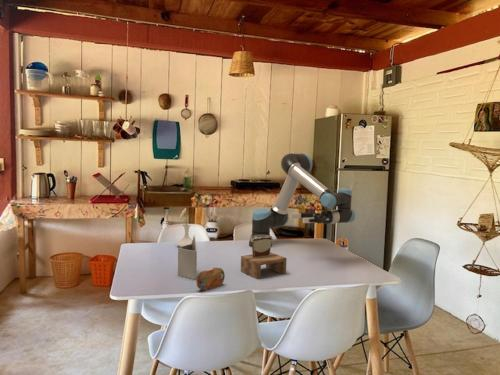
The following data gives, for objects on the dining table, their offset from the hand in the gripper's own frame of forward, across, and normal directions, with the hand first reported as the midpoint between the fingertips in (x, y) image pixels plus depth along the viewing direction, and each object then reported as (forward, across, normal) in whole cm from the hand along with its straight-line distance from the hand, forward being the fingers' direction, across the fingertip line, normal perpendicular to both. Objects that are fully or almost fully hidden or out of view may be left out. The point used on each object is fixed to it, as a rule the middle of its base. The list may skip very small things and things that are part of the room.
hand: (296, 218), depth 217 cm
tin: (+55, -22, -26) cm, 64 cm away
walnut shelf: (+23, -9, -25) cm, 35 cm away
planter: (+60, 0, -26) cm, 66 cm away
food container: (+24, -5, -18) cm, 30 cm away
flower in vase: (+46, +55, -27) cm, 77 cm away
